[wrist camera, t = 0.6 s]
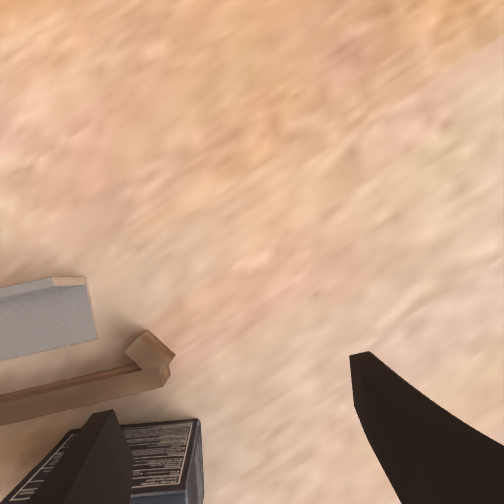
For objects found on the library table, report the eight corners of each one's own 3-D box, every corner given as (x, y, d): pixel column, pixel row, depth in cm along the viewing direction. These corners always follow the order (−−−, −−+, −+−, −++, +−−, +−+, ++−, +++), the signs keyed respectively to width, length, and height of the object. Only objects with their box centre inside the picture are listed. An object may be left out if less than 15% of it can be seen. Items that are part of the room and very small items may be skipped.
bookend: (99, 337, 31) (66, 352, 25) (-2, 360, 31) (-61, 381, 24) (87, 277, 32) (51, 277, 25) (-13, 299, 31) (-75, 304, 25)
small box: (70, 513, 30) (-14, 638, 20) (67, 428, 31) (-18, 506, 20) (206, 499, 31) (194, 613, 20) (201, 416, 31) (186, 486, 21)
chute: (222, 578, 30) (221, 617, 27) (33, 631, 29) (6, 679, 26) (169, 325, 32) (162, 331, 28) (-15, 367, 30) (-47, 379, 27)
